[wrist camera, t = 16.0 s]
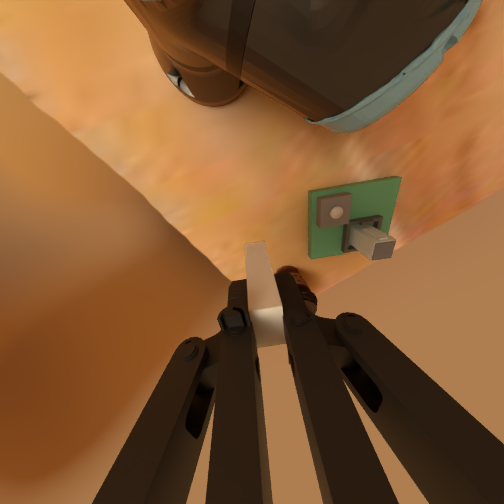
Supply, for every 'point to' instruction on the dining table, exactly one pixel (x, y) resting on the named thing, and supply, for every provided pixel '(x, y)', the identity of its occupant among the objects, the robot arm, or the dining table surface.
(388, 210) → the board
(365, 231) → the plug
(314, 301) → the coffee cup
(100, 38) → the dining table surface
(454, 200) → the dining table surface
